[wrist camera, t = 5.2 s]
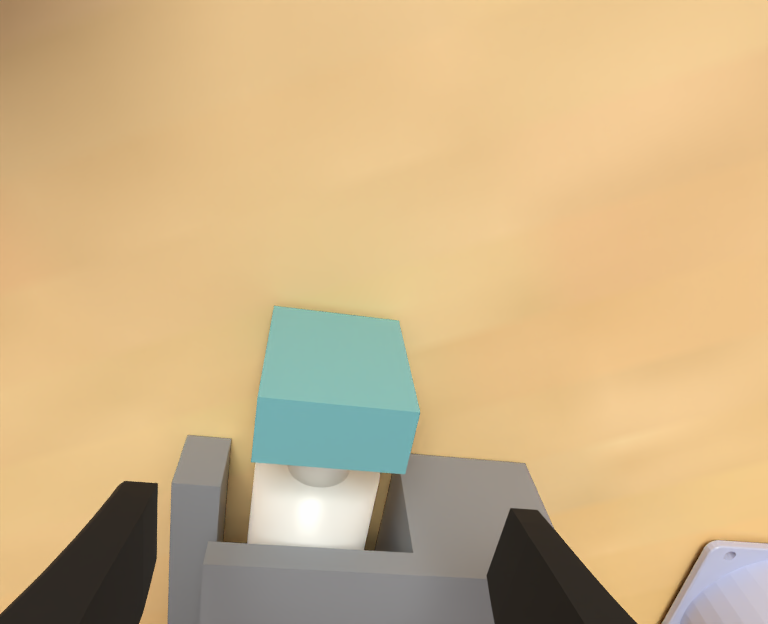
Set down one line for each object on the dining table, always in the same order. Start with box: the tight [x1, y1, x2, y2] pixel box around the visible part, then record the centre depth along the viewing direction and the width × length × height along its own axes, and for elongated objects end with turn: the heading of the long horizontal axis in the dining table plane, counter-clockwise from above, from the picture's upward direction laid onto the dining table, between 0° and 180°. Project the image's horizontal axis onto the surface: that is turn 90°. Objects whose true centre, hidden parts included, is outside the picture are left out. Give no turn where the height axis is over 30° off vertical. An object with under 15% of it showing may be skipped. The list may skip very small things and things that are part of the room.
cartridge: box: [247, 306, 420, 550], centre depth 20 cm, size 4×16×5 cm, turn 170°
